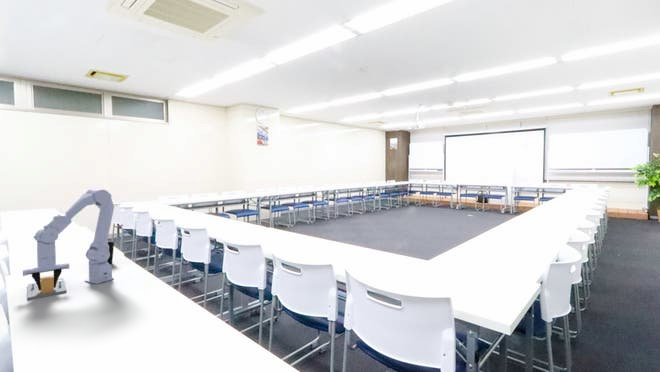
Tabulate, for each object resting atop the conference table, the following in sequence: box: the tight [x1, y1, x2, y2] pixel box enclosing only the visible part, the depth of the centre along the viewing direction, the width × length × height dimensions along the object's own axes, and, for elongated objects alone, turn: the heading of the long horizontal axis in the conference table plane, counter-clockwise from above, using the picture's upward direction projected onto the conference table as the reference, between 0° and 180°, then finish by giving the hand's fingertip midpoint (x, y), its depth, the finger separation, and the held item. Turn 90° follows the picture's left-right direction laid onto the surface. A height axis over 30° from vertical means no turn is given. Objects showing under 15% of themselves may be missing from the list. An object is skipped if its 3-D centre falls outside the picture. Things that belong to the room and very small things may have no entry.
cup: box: [107, 241, 115, 265], centre depth 173 cm, size 8×8×12 cm
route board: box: [27, 277, 68, 300], centre depth 135 cm, size 21×12×1 cm, turn 45°
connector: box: [40, 274, 54, 294], centre depth 130 cm, size 4×4×6 cm
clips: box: [31, 280, 61, 289], centre depth 135 cm, size 6×9×2 cm, turn 135°
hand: (47, 288), depth 130 cm, fingers closed on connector, 4 cm apart
